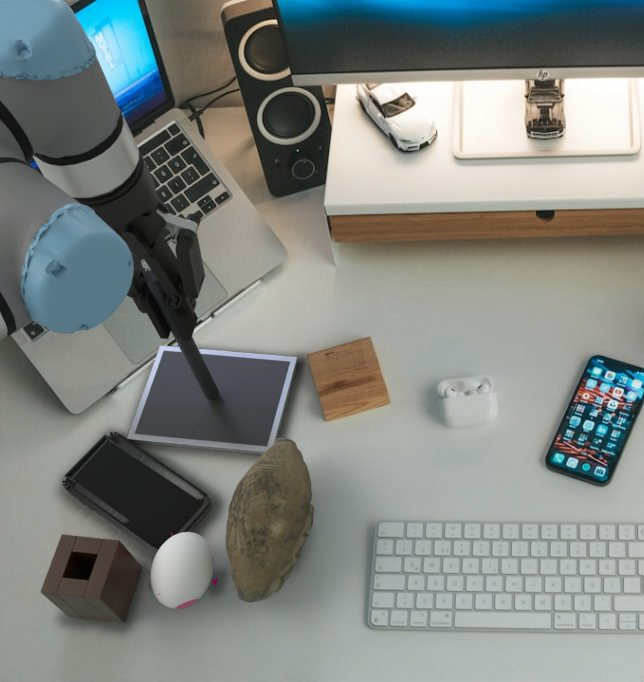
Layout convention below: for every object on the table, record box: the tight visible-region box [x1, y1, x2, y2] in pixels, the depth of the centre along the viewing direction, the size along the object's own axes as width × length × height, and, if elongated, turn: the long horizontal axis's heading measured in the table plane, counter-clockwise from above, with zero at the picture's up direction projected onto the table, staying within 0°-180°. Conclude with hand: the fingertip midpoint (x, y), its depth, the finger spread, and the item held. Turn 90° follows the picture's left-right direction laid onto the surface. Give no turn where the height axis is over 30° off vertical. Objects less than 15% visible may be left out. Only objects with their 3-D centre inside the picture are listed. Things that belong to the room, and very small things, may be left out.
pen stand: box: [39, 533, 143, 624], centre depth 105 cm, size 6×6×7 cm
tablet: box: [126, 345, 299, 456], centre depth 119 cm, size 16×12×1 cm
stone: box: [225, 437, 315, 603], centre depth 107 cm, size 17×9×8 cm, turn 179°
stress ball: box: [150, 531, 218, 610], centre depth 106 cm, size 8×8×7 cm
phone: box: [61, 431, 213, 557], centre depth 113 cm, size 8×1×15 cm
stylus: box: [144, 269, 219, 400], centre depth 109 cm, size 2×2×22 cm
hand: (179, 328), depth 107 cm, fingers closed on stylus, 2 cm apart
